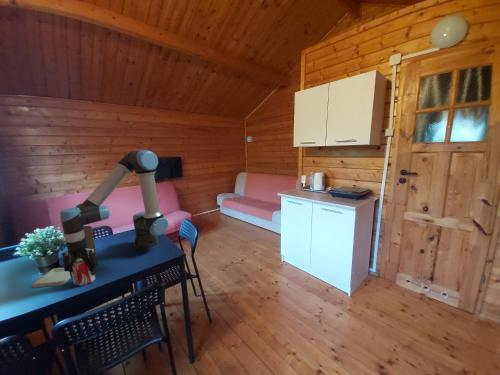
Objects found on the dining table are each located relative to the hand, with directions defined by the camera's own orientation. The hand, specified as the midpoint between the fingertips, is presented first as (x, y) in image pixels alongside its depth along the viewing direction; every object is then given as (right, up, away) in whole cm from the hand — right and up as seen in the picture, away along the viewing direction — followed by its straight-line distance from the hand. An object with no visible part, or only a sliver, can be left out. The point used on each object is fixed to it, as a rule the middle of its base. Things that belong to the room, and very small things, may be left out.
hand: (84, 281), depth 109 cm
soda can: (0, -1, 0) cm, 1 cm away
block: (-19, +3, +25) cm, 31 cm away
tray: (-18, 0, +5) cm, 18 cm away
